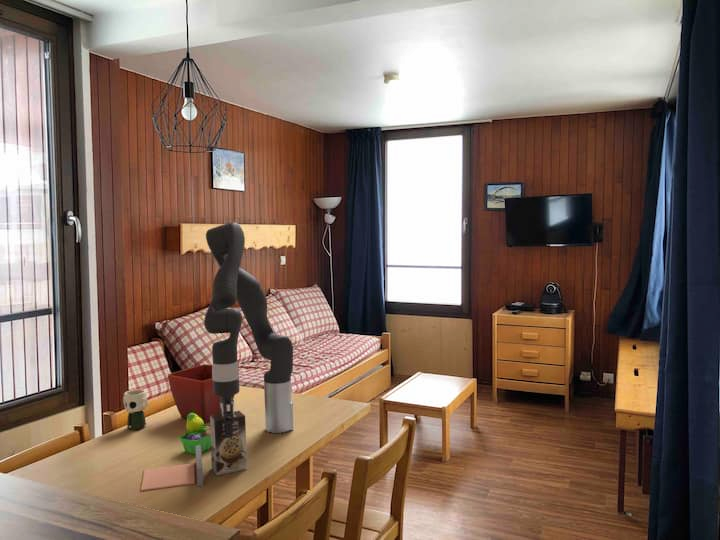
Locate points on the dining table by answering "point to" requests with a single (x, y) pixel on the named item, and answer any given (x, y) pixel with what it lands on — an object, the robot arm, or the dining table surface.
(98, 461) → the dining table surface
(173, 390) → the plant pot
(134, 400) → the character mug
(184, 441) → the fruit basket
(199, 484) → the low wall
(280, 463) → the dining table surface
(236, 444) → the coffee box
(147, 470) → the mat
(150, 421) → the dining table surface
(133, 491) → the dining table surface
